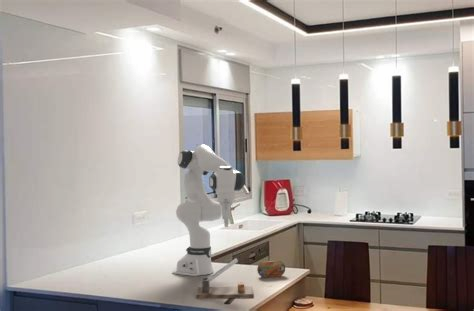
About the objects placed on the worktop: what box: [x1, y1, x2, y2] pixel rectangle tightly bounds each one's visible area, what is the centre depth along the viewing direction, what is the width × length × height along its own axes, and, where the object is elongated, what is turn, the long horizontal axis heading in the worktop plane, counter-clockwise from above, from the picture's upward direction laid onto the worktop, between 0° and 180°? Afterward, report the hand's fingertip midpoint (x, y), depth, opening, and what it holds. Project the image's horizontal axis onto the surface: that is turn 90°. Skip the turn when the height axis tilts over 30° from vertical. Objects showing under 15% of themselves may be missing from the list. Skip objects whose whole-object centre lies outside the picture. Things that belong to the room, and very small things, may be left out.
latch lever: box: [206, 258, 239, 283], centre depth 251 cm, size 18×4×1 cm
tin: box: [256, 260, 286, 279], centre depth 284 cm, size 15×3×8 cm, turn 105°
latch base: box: [196, 276, 254, 299], centre depth 251 cm, size 26×14×7 cm, turn 91°
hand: (226, 226), depth 270 cm, fingers open, 4 cm apart
